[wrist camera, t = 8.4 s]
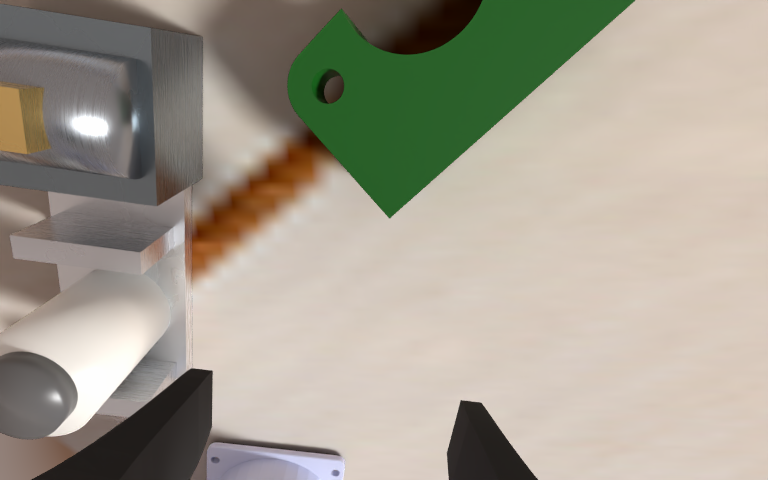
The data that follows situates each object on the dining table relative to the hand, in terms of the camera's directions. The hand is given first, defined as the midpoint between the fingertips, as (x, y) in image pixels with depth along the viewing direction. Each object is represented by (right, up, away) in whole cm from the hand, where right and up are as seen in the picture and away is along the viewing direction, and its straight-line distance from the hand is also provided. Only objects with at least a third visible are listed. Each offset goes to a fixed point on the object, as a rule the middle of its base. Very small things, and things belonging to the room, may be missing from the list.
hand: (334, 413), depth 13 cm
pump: (-11, +2, +9) cm, 15 cm away
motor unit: (-11, +6, +8) cm, 15 cm away
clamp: (+4, +13, +6) cm, 15 cm away
